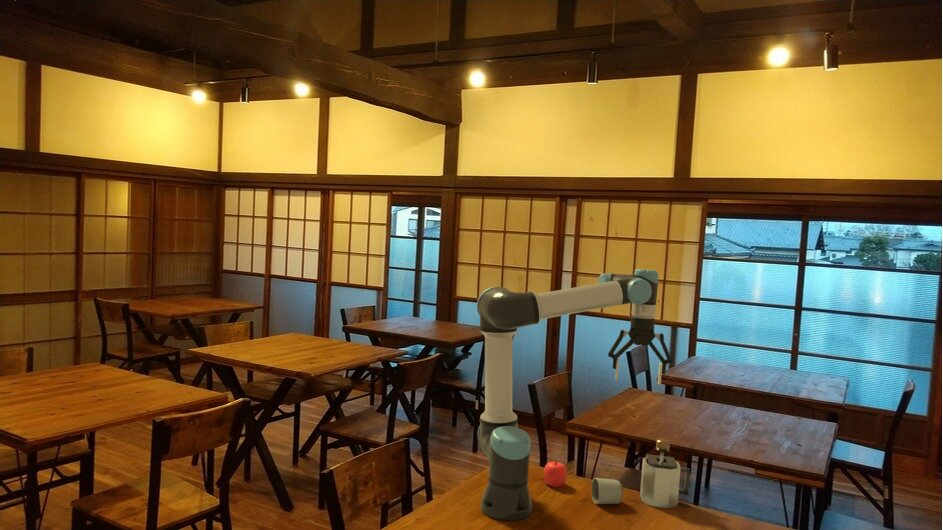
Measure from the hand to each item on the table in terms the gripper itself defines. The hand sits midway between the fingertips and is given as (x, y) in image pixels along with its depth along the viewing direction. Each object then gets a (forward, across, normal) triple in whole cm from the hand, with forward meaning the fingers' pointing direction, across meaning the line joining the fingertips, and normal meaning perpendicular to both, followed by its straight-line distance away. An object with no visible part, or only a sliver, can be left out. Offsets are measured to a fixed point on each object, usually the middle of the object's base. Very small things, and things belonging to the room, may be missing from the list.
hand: (637, 381), depth 216 cm
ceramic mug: (+36, -8, -13) cm, 39 cm away
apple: (+36, -24, -5) cm, 44 cm away
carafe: (+36, +11, -7) cm, 38 cm away
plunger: (+34, +9, -7) cm, 36 cm away
